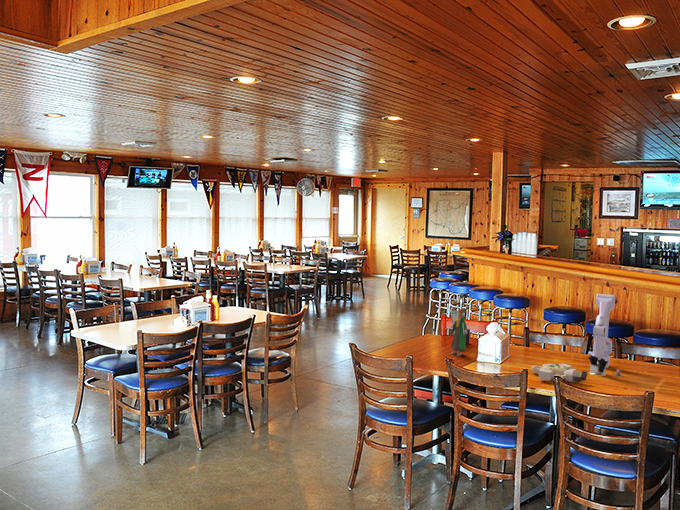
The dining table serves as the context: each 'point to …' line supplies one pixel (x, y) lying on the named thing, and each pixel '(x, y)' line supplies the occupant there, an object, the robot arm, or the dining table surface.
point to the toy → (559, 372)
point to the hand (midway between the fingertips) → (597, 370)
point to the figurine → (459, 333)
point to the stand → (618, 374)
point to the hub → (597, 374)
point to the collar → (595, 368)
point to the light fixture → (467, 338)
